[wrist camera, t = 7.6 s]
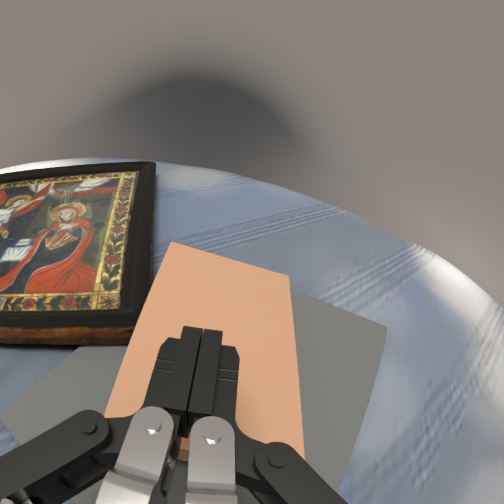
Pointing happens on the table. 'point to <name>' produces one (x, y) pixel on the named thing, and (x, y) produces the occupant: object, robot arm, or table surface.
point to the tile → (234, 334)
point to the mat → (310, 383)
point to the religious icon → (75, 252)
